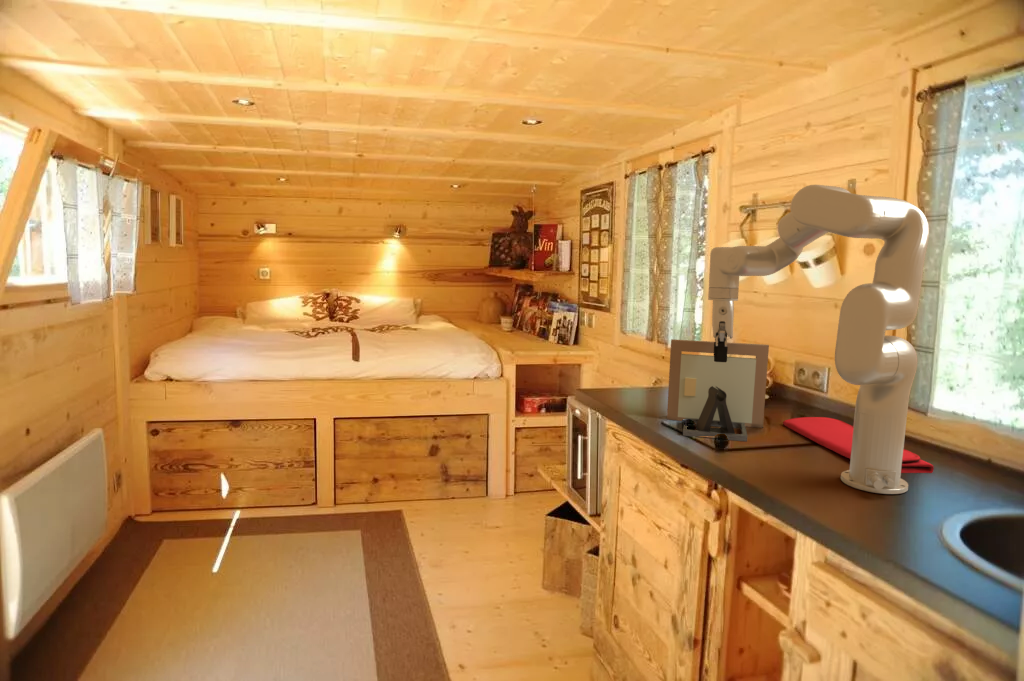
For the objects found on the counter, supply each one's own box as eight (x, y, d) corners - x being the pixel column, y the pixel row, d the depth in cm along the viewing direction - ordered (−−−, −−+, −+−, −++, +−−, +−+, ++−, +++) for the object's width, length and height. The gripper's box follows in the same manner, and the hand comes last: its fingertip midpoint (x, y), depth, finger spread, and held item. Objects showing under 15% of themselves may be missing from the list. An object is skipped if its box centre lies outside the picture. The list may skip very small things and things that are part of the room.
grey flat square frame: (747, 441, 173) (747, 435, 173) (682, 435, 177) (683, 430, 177) (744, 428, 186) (744, 422, 186) (684, 422, 191) (684, 417, 191)
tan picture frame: (762, 428, 187) (769, 345, 183) (666, 419, 194) (671, 340, 190) (761, 424, 191) (767, 343, 188) (667, 416, 198) (671, 338, 195)
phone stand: (727, 429, 185) (730, 386, 183) (735, 435, 179) (738, 391, 177) (694, 428, 185) (697, 385, 183) (701, 434, 179) (704, 390, 177)
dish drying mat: (835, 426, 192) (836, 414, 191) (935, 475, 151) (937, 459, 151) (781, 426, 191) (782, 414, 190) (868, 475, 150) (870, 459, 150)
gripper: (739, 296, 168) (736, 364, 170) (736, 293, 184) (733, 355, 186) (708, 295, 170) (705, 363, 172) (708, 292, 186) (705, 354, 188)
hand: (719, 359), depth 179 cm, fingers open, 9 cm apart
